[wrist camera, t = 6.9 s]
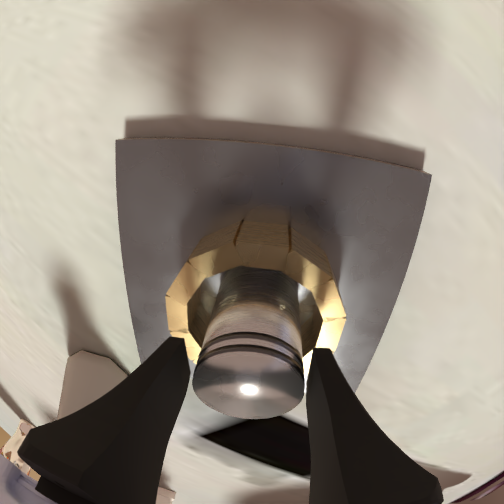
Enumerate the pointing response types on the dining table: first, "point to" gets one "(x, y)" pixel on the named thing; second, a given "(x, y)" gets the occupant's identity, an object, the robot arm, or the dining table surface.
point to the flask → (87, 381)
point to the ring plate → (265, 237)
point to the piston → (252, 346)
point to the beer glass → (17, 446)
